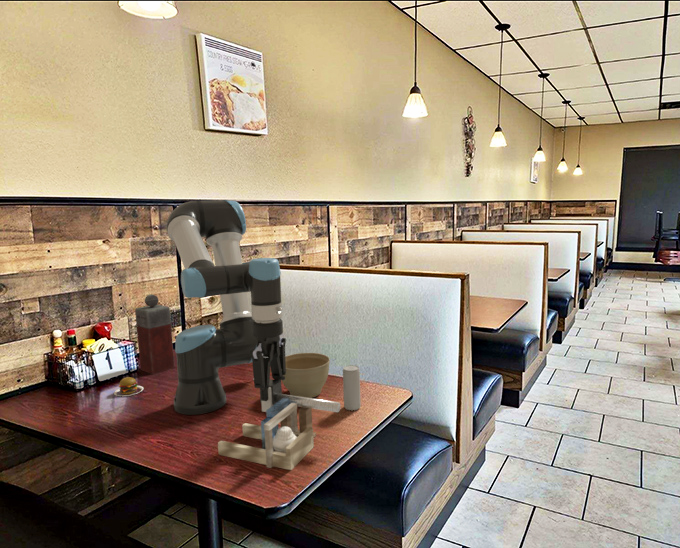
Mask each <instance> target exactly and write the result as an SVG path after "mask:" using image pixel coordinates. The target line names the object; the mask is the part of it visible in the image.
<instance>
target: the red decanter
mask: <svg viewBox="0 0 680 548" xmlns="http://www.w3.org/2000/svg"><path fill="white" fill-rule="evenodd" d="M144 303H145V305H146V306H141V307H136V308H135V310H134V312H135V323H136V331H137V332H136V333H137V344H138V355H139V365H140V371H143V372H145V373H147V374H149V375H155V374H158V373H162V372H166V371H168V370H171V369H174V368H175V356H174V346H173V332H172V320H171V309H170V307H169V306H166V305H161V304H159V297H158V296H157V295H156V294H147V295H146V297H145V299H144Z"/></svg>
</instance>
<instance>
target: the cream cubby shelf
mask: <svg viewBox="0 0 680 548" xmlns="http://www.w3.org/2000/svg"><path fill="white" fill-rule="evenodd" d="M288 406H289V405H288ZM284 409H285V408H284ZM312 410H313V409H312V408H306V407H300V408H299V409H298V421H299V422H298V423H299V424H298V427H299V429H298V433H302V432H303V431H305V430H306V429H307V428H308V427H313V413H312V412H313V411H312ZM280 412H281V411H280ZM280 412H279V413H280ZM285 426H286V427H289V428H291V416H290V414H289V415H288V416H287V417H286V418H285V419H283V420H282V421H281V422H280V428H281V427H285ZM316 436H317V432H314V431H313V438H316Z"/></svg>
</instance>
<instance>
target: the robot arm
mask: <svg viewBox="0 0 680 548" xmlns="http://www.w3.org/2000/svg"><path fill="white" fill-rule="evenodd" d="M246 223H247V221H246V214H245V212H244V209H243V207H242V205H241V204H240V203H239V202H237V201H236V200H228V199H221V200H200V201H199V200H198V201H197V200H191V201H186V202H184V203H181V204H179V205H178V206H176V208H174V209H173V211H171V212H170V214H169V215H168V218H167V220H166V223H165V224H166V225H165V227H166V232H167V235H168V237H169V239H170V240H171V241H172V242H174V244H175V247H176V250H177V252H178V254H179V257H180V260H181V262H182V265H183V268H184V269H183V270H182V271H181V273H180V284H181V288H182V289H181V290H182V294H183V295H184V297H185V298H188V299H189V298H191V299H193V298H199V299H201V298H204V297H211V296H219V297H220V304H221V310H222V316H223V318H222V320H221V321H220V322H219V328H216V326H215V325H212V324H205V325H204V324H202V325H196V326H192V327H189V328H185V329H184V330H182V331H180V332H179V333H178V334H177V335H176V336H175V339H174V340H175V342H174V343H175V345H174V346H175V348H174V352H175V354H176V356H175V357H176V370H177V379H178V381H177V387H176V391H175V394H174V395H175V397H174V399H173V409H174V411H175V412H176V413H178V414H181V415H194V416H195V415H203V414H208V413H212V412H214V411H217V410H219V409H221V408H222V407H224V406H225V405H226V403H227V395H226V392H225V390H224V387H223V385H222V383H221V380H220V375H219V369H221V368H226V367H233V366H239V365H244V364H251V363H252V374H253V378H254V380H253V384H254V385H253V386H254V388H255V389H259V393H260V392H261V401H260V404H261V412H262V413H264V412H265V413H266V410H267V409H269V408H270V407H272V406H273V405H272V390H271V387H269V381H270V379H271V378H272V380H280V381H281V382H282V380H284V379H285V376H283V375H285V374H286V361H285V356H286V343H287V339H286V337H281V335H282V334H283V333H284V326H283V323H284V322H283V320H282V319H281V318H283V312H282V311H283V308H282V287H281V286H282V284H281V283H282V282H281V273H282V272H281V268H280V261H279V259H278V258H274V257H257V258H252V259H251V260H250V261H246V262H243V259H242V254H241V249H240V248H241V247H240V242H241V241H242V240H243V235H245V233H246V231H247V224H246ZM203 238H205V240H206V241H205V242H206V244H207V245H208V246H210V247H211V248H212V253H213V254H212V255H213V259H212V257H211V255H210V253H209V251H208V248H207V247H206V244H205V243H204V240H203ZM213 260H214V261H213ZM249 293H250V298H249ZM250 299H251V301H250ZM250 302H251V304H250ZM281 369H282V370H281ZM270 375H271V378H270ZM281 388H282V386H281Z"/></svg>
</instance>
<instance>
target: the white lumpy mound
mask: <svg viewBox="0 0 680 548" xmlns="http://www.w3.org/2000/svg"><path fill="white" fill-rule="evenodd" d="M296 438H297V436H296V435H295V434H293V432H292V430H291V428H289V427H286V426H285V427H281V426H280V427H279V429H278V430H277V433H276V435H275V436H274V437H273V448H274V449H275V450H274V451H276V452H281V453H286V447H287V446H288V445H290V444H291V443H292V442H293V441H294V440H295V439H296Z"/></svg>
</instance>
